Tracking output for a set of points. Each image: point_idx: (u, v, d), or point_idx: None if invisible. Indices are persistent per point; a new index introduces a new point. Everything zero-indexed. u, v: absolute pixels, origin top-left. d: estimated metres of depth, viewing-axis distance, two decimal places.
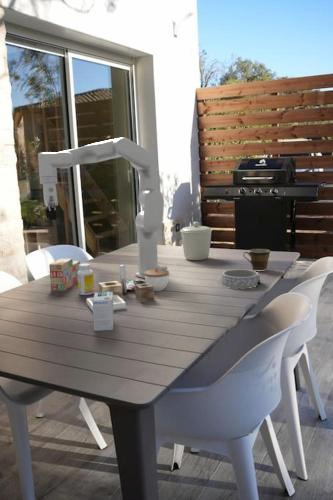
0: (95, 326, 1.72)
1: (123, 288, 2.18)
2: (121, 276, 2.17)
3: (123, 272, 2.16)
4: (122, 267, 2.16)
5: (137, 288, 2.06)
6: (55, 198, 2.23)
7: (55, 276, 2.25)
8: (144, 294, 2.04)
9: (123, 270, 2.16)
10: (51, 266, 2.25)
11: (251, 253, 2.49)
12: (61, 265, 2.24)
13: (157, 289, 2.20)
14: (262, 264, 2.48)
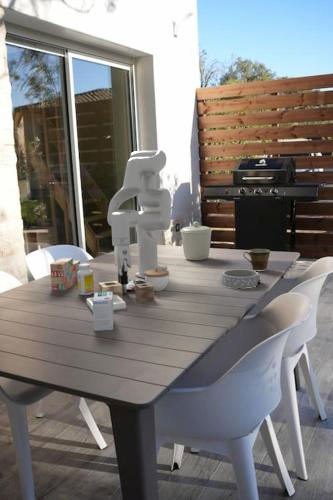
0: (95, 326, 1.72)
1: (123, 288, 2.18)
2: None
3: None
4: None
5: (137, 288, 2.06)
6: (129, 261, 2.13)
7: (56, 276, 2.26)
8: (144, 294, 2.04)
9: None
10: (52, 266, 2.25)
11: (251, 253, 2.49)
12: (62, 265, 2.24)
13: (157, 289, 2.20)
14: (262, 264, 2.48)
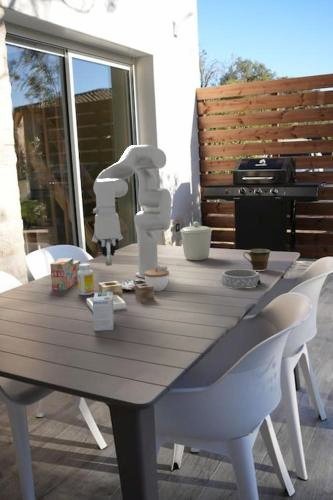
0: (95, 326, 1.72)
1: None
2: None
3: None
4: None
5: (137, 288, 2.06)
6: (95, 231, 2.04)
7: (56, 275, 2.26)
8: (144, 294, 2.04)
9: None
10: (52, 266, 2.26)
11: (251, 253, 2.49)
12: (62, 265, 2.25)
13: (157, 289, 2.20)
14: (262, 264, 2.48)
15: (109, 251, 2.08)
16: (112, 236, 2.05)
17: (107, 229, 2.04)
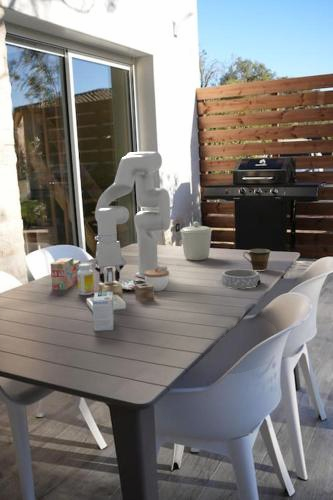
0: (95, 326, 1.72)
1: None
2: None
3: None
4: (106, 268, 2.10)
5: (137, 288, 2.06)
6: (97, 259, 2.06)
7: (56, 275, 2.27)
8: (144, 294, 2.04)
9: (106, 272, 2.10)
10: (52, 265, 2.26)
11: (251, 253, 2.49)
12: (62, 264, 2.25)
13: (157, 289, 2.20)
14: (262, 264, 2.48)
15: (111, 282, 2.10)
16: (113, 263, 2.07)
17: (109, 257, 2.06)
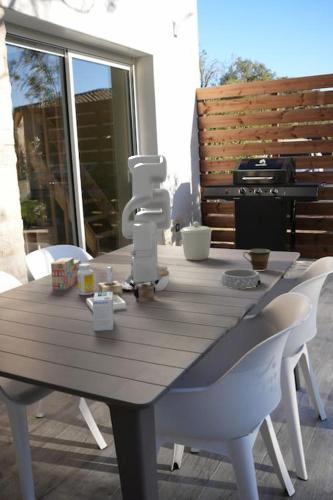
0: (95, 326, 1.72)
1: None
2: None
3: (107, 274, 2.10)
4: None
5: (137, 288, 2.06)
6: (133, 274, 2.03)
7: (57, 275, 2.27)
8: (144, 294, 2.04)
9: None
10: (53, 265, 2.27)
11: (251, 253, 2.49)
12: (63, 264, 2.26)
13: (157, 289, 2.20)
14: (262, 264, 2.48)
15: (111, 282, 2.10)
16: (149, 279, 2.04)
17: (144, 272, 2.03)
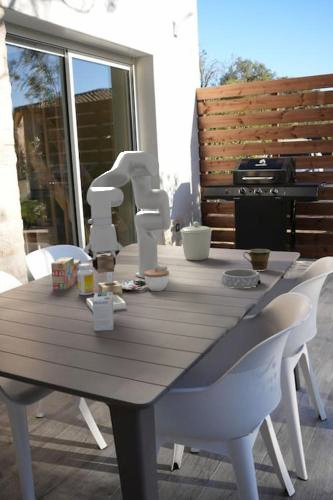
0: (95, 326, 1.72)
1: None
2: None
3: None
4: None
5: (96, 258, 1.95)
6: (91, 243, 1.92)
7: (57, 275, 2.28)
8: (103, 264, 1.93)
9: (106, 272, 2.10)
10: (53, 265, 2.27)
11: (251, 253, 2.49)
12: (63, 264, 2.26)
13: (157, 289, 2.20)
14: (262, 264, 2.48)
15: (111, 282, 2.10)
16: (108, 249, 1.93)
17: (103, 241, 1.92)
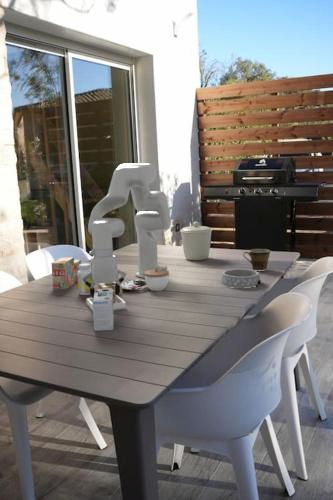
0: (95, 326, 1.72)
1: None
2: None
3: None
4: None
5: None
6: (92, 274, 1.94)
7: (57, 275, 2.28)
8: None
9: None
10: (53, 265, 2.27)
11: (251, 253, 2.49)
12: (63, 264, 2.27)
13: (157, 289, 2.20)
14: (262, 264, 2.48)
15: None
16: (109, 279, 1.95)
17: (104, 272, 1.94)
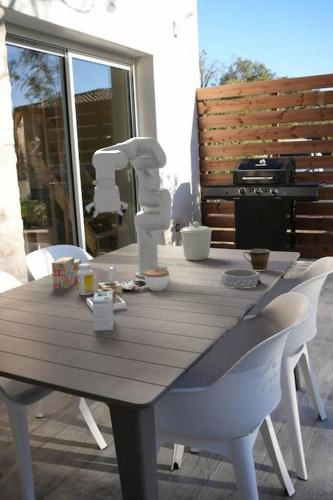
0: (95, 326, 1.72)
1: None
2: None
3: (109, 275, 2.09)
4: (109, 269, 2.08)
5: None
6: (95, 204, 2.00)
7: (58, 274, 2.28)
8: None
9: (109, 272, 2.09)
10: (54, 264, 2.28)
11: (251, 253, 2.49)
12: (64, 263, 2.27)
13: (157, 289, 2.20)
14: (262, 264, 2.48)
15: (113, 282, 2.10)
16: (112, 209, 2.02)
17: (107, 202, 2.00)
